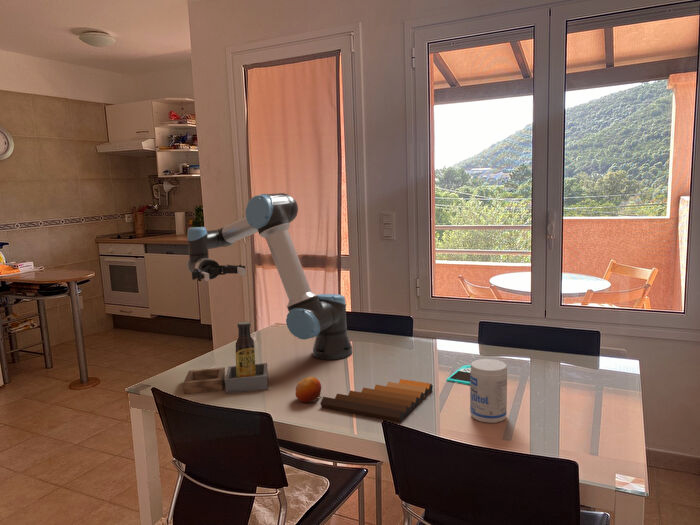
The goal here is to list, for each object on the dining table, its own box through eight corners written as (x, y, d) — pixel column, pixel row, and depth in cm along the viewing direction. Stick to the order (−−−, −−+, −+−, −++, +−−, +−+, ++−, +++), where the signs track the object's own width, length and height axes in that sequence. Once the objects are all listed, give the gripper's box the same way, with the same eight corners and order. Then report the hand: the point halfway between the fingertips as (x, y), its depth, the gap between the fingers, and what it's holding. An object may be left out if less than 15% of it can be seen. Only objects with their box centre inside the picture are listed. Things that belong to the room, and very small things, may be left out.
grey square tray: (267, 375, 183) (266, 362, 182) (267, 389, 170) (266, 376, 169) (229, 379, 181) (228, 366, 180) (226, 393, 168) (225, 380, 168)
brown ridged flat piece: (320, 410, 154) (399, 425, 142) (320, 398, 153) (399, 413, 141) (361, 380, 175) (432, 392, 163) (360, 370, 175) (432, 381, 163)
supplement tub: (464, 418, 143) (463, 365, 141) (480, 406, 150) (479, 356, 148) (498, 427, 137) (497, 372, 135) (513, 414, 144) (513, 362, 142)
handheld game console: (493, 371, 178) (493, 367, 178) (476, 387, 165) (476, 383, 164) (464, 367, 183) (464, 363, 183) (446, 382, 170) (446, 378, 170)
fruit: (324, 401, 155) (309, 378, 155) (302, 413, 157) (288, 390, 157) (330, 390, 163) (316, 368, 163) (310, 402, 165) (296, 380, 165)
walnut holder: (225, 377, 183) (224, 367, 183) (222, 389, 172) (221, 379, 171) (189, 380, 182) (188, 370, 181) (184, 393, 170) (183, 383, 169)
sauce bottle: (239, 386, 171) (235, 326, 168) (234, 380, 177) (230, 322, 174) (259, 382, 174) (255, 323, 171) (253, 376, 180) (249, 319, 177)
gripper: (238, 274, 213) (260, 280, 196) (176, 282, 200) (193, 290, 182) (237, 255, 212) (258, 260, 195) (174, 263, 199) (191, 268, 181)
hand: (227, 275), depth 189 cm, fingers open, 13 cm apart
